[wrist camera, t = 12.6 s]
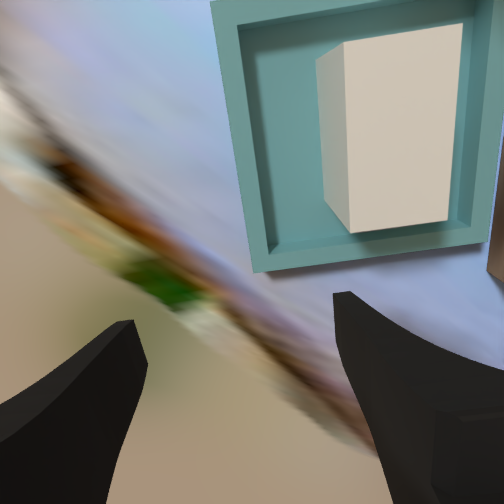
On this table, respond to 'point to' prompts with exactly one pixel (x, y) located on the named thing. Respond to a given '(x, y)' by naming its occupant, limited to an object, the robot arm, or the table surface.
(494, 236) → the bay
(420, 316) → the table surface
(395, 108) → the cream rectangular block
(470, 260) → the table surface
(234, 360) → the table surface
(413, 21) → the tray
